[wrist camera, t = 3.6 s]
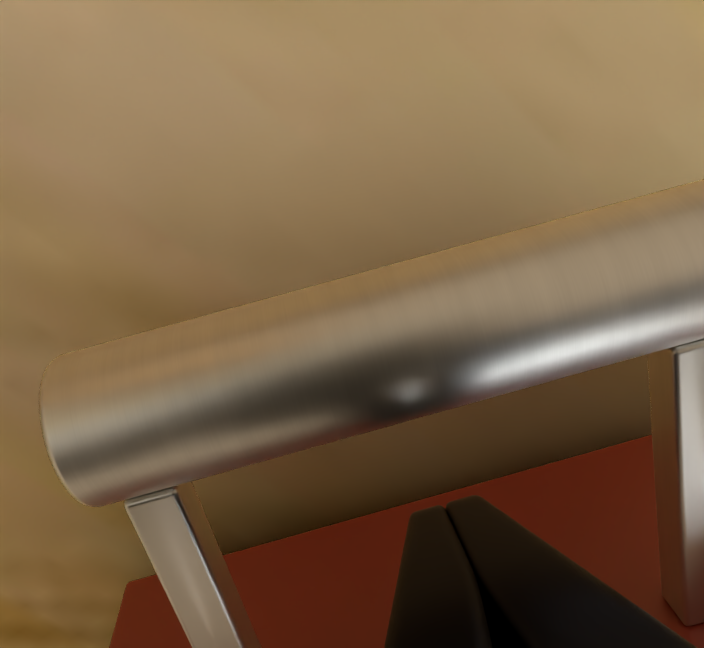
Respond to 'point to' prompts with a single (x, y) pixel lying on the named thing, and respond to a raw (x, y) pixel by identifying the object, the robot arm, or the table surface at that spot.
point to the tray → (396, 407)
